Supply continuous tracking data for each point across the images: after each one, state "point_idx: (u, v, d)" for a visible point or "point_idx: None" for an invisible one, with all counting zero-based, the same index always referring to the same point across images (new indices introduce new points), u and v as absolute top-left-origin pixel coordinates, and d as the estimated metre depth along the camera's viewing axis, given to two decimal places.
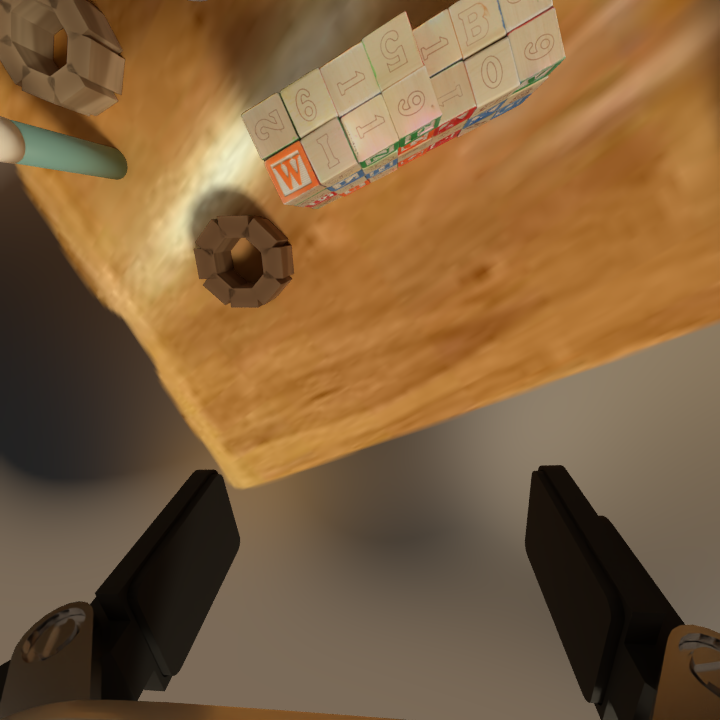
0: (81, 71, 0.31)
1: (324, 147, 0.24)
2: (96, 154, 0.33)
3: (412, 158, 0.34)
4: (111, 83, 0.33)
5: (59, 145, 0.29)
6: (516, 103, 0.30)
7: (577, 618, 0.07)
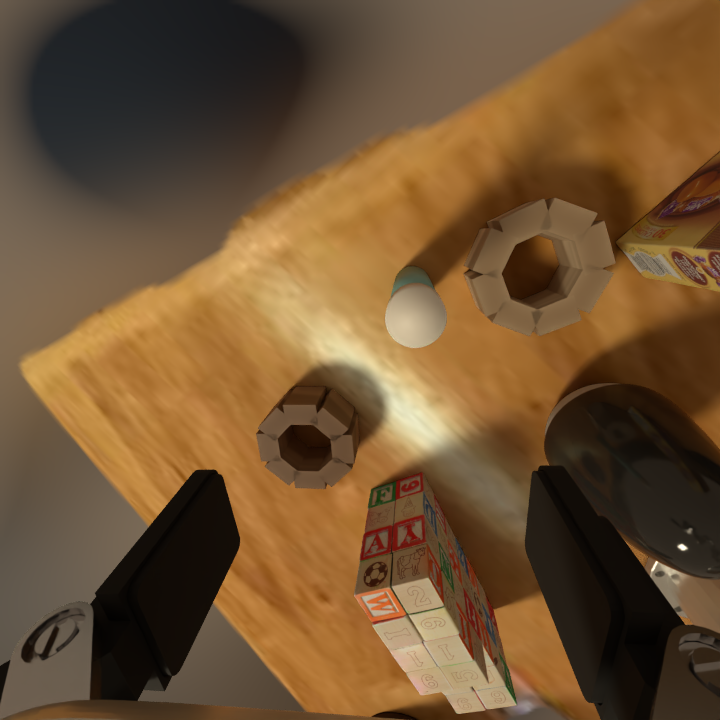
0: (501, 316, 0.26)
1: (400, 632, 0.27)
2: None
3: None
4: None
5: None
6: None
7: (578, 619, 0.07)
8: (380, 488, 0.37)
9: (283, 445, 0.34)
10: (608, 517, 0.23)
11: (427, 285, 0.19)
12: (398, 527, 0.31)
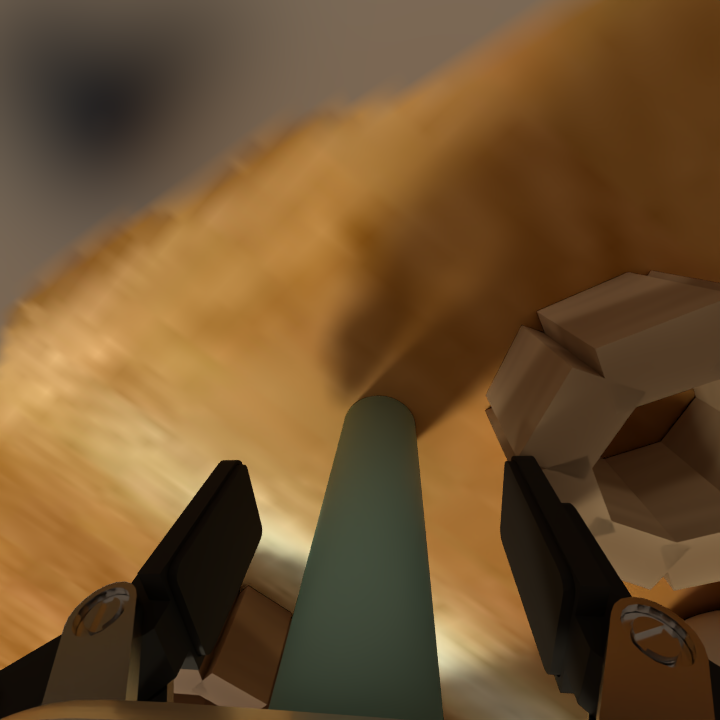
0: None
1: None
2: None
3: None
4: None
5: None
6: None
7: (539, 597, 0.08)
8: None
9: None
10: None
11: None
12: None
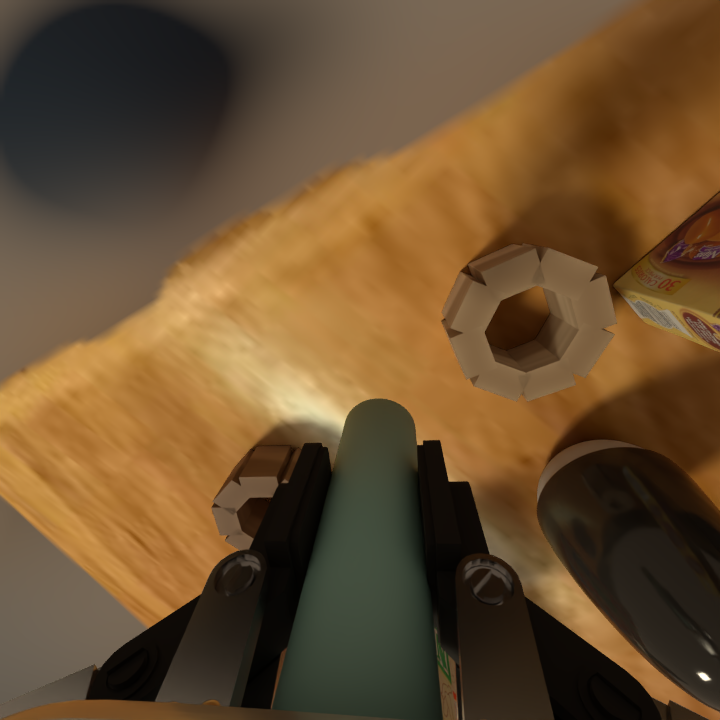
0: (483, 379, 0.22)
1: None
2: None
3: None
4: None
5: None
6: None
7: None
8: None
9: (245, 515, 0.30)
10: (613, 621, 0.19)
11: None
12: None
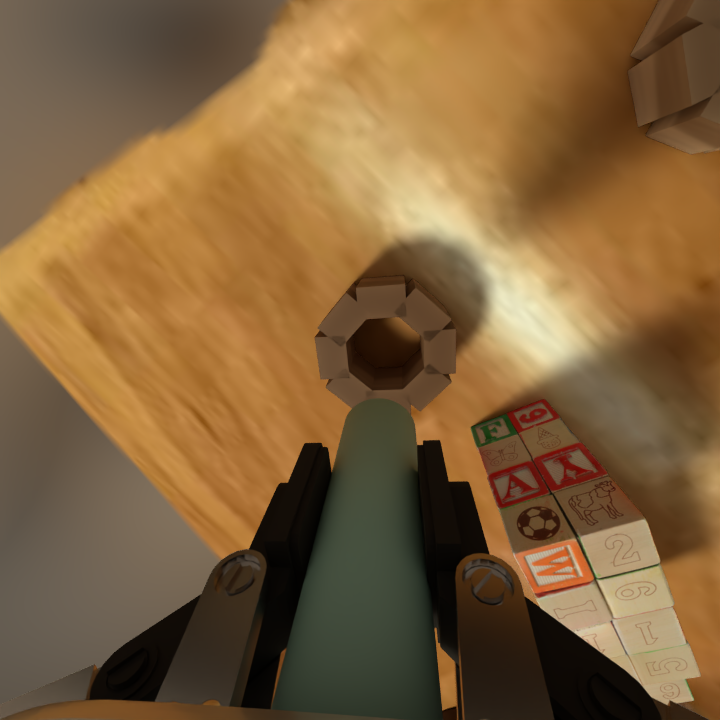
0: (716, 103, 0.17)
1: (580, 606, 0.18)
2: None
3: None
4: (670, 133, 0.19)
5: None
6: None
7: None
8: (485, 424, 0.28)
9: (349, 357, 0.24)
10: None
11: None
12: (543, 462, 0.22)
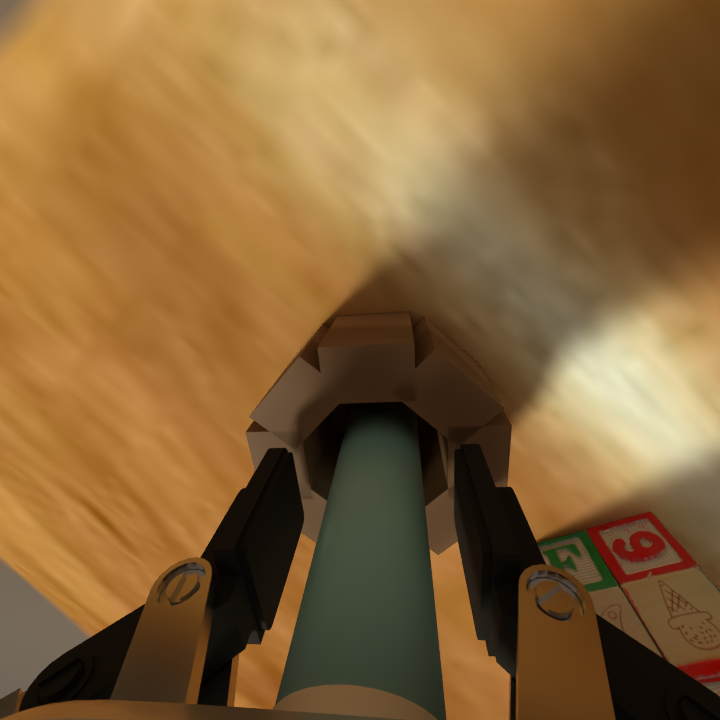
0: None
1: None
2: None
3: None
4: None
5: None
6: None
7: (472, 570, 0.08)
8: (550, 545, 0.18)
9: (314, 457, 0.14)
10: None
11: (395, 693, 0.05)
12: None
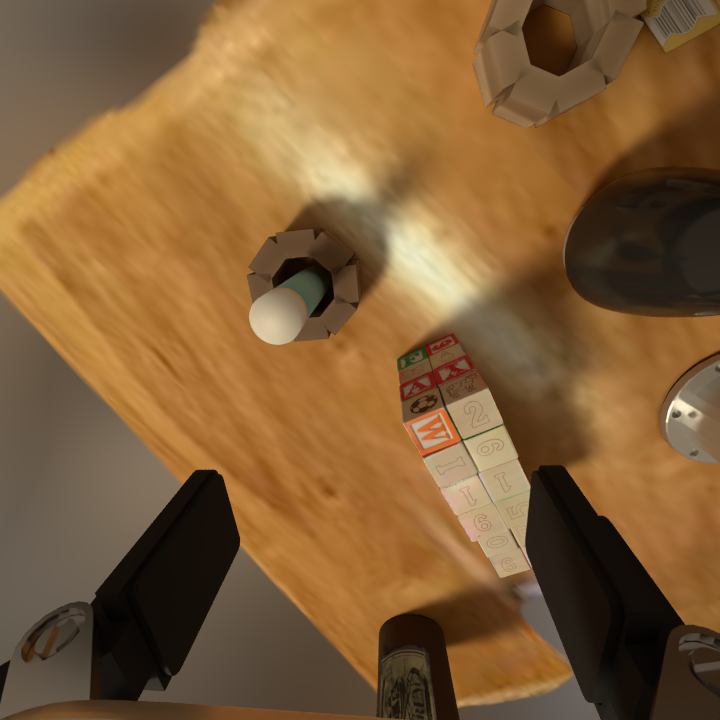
0: (519, 88, 0.23)
1: (454, 463, 0.25)
2: None
3: None
4: (503, 111, 0.26)
5: None
6: None
7: (577, 619, 0.07)
8: (407, 356, 0.35)
9: None
10: (650, 277, 0.21)
11: (291, 289, 0.22)
12: (439, 370, 0.28)
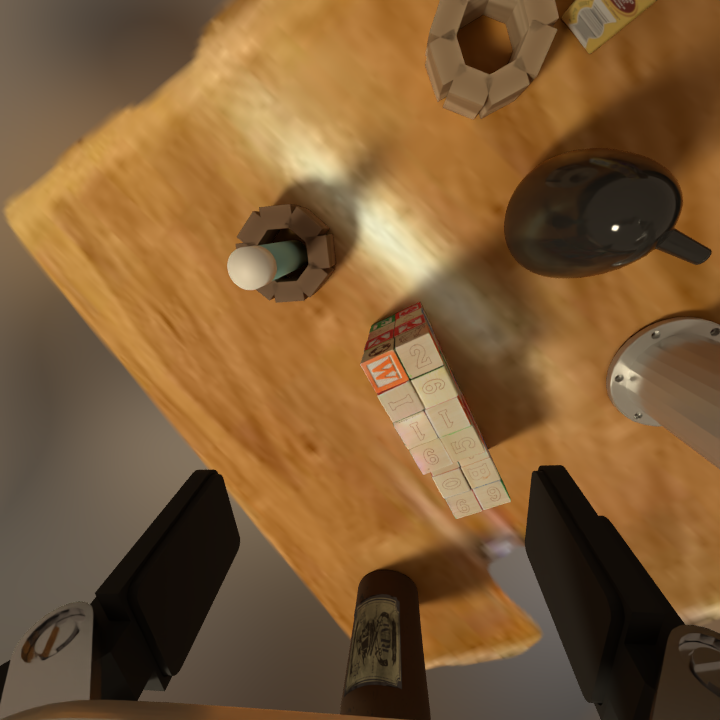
0: (456, 84, 0.28)
1: (403, 400, 0.29)
2: None
3: None
4: (450, 104, 0.30)
5: None
6: None
7: (578, 619, 0.07)
8: (380, 322, 0.39)
9: None
10: (554, 237, 0.25)
11: (263, 247, 0.27)
12: (399, 327, 0.33)
